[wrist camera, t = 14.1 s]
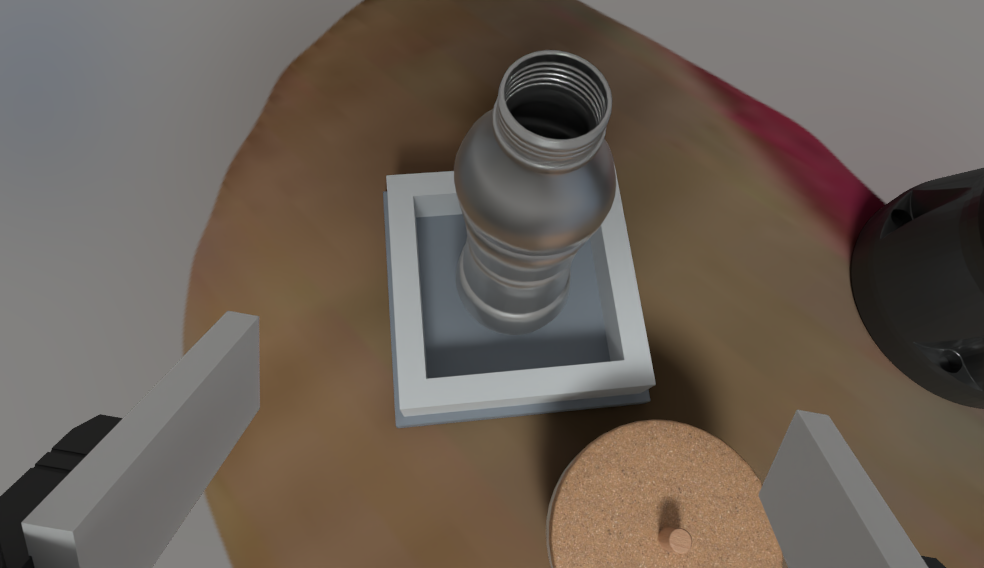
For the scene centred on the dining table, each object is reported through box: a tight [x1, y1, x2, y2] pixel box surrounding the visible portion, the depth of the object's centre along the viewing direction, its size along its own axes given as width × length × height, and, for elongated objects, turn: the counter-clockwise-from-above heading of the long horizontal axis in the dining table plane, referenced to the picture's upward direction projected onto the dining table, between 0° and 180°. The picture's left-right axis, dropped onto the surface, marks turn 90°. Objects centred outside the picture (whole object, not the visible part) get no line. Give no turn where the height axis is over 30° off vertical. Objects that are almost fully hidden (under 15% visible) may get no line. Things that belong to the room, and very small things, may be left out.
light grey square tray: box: [383, 165, 656, 428], centre depth 38 cm, size 15×15×4 cm
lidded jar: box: [546, 419, 783, 568], centre depth 31 cm, size 11×11×9 cm
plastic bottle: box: [454, 50, 616, 335], centre depth 30 cm, size 6×7×20 cm
